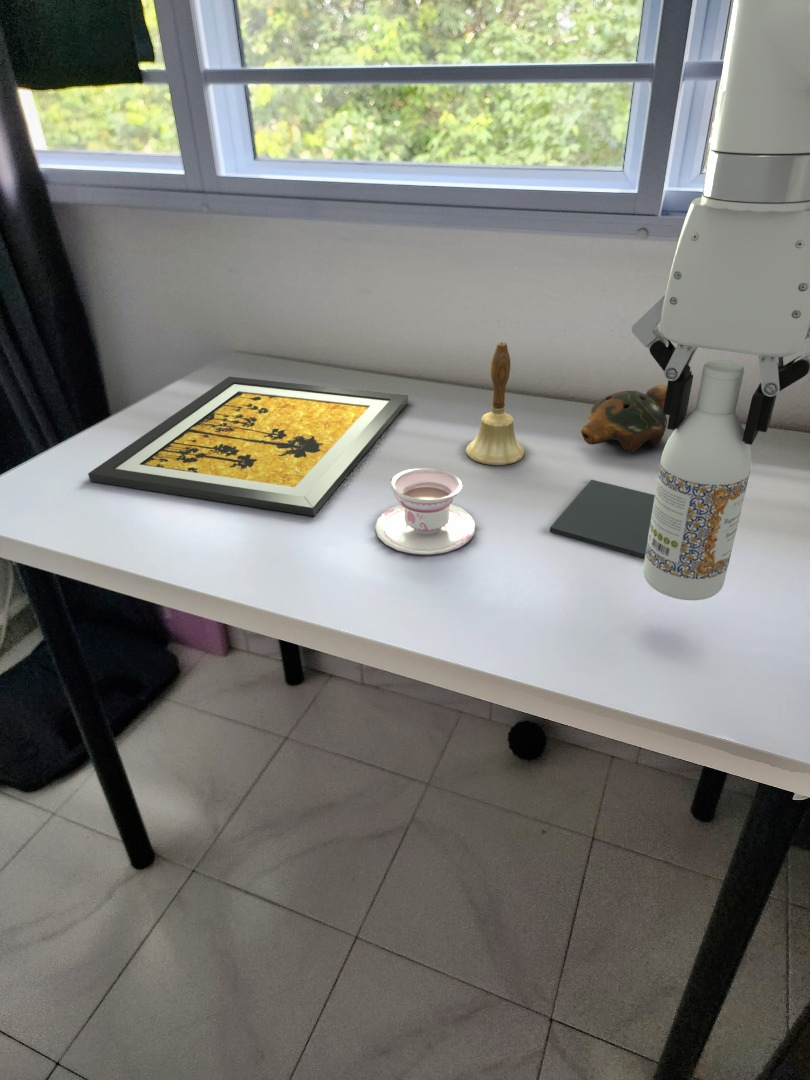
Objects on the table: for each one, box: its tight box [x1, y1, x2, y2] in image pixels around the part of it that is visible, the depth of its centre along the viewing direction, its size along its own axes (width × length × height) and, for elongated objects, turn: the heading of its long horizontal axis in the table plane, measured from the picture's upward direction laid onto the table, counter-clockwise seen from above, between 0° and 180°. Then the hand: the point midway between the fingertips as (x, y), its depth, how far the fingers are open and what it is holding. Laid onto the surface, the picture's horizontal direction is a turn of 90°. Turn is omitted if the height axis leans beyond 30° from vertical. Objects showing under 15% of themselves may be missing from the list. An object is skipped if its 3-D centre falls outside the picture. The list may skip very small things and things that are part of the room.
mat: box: [549, 479, 655, 559], centre depth 91 cm, size 14×14×1 cm
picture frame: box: [87, 376, 409, 517], centre depth 112 cm, size 38×1×33 cm
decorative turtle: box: [580, 385, 668, 454], centre depth 107 cm, size 10×15×8 cm, turn 122°
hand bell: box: [465, 342, 525, 466], centre depth 103 cm, size 8×8×16 cm
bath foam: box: [642, 359, 752, 601], centre depth 62 cm, size 7×7×20 cm
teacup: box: [374, 467, 476, 556], centre depth 88 cm, size 12×12×6 cm
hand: (712, 428), depth 60 cm, fingers closed on bath foam, 5 cm apart
